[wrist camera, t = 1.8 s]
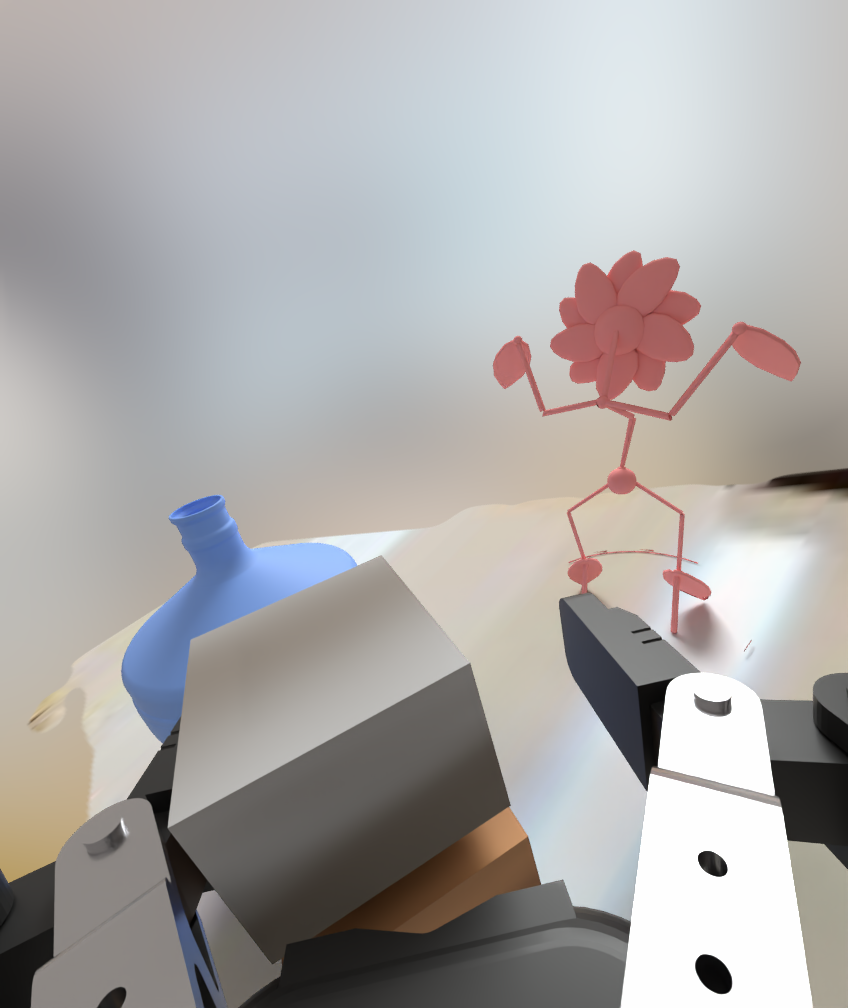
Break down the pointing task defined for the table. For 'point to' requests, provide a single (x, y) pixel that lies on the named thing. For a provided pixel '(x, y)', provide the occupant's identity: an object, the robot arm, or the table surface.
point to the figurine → (635, 367)
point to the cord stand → (342, 768)
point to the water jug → (213, 602)
